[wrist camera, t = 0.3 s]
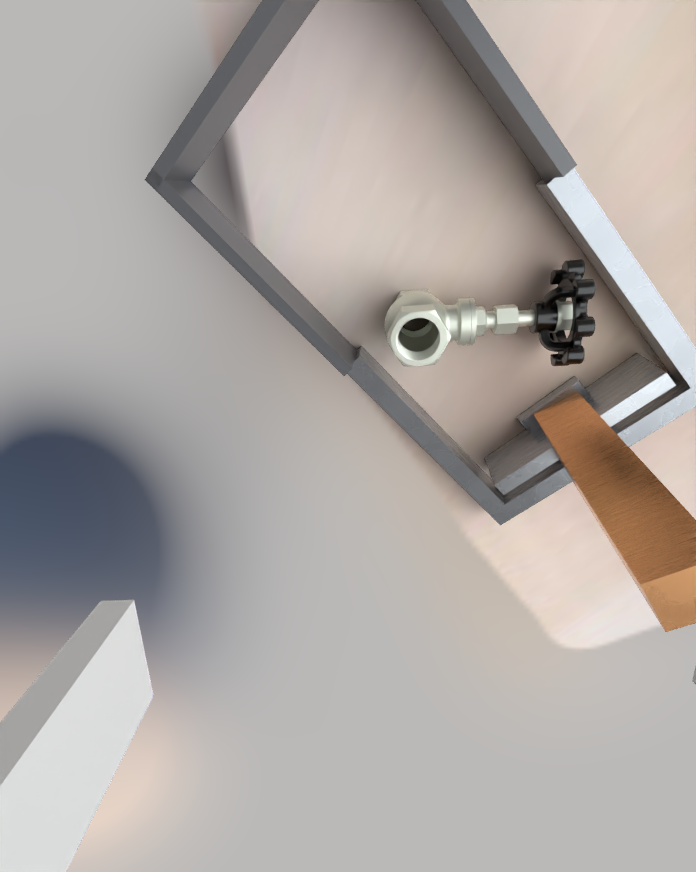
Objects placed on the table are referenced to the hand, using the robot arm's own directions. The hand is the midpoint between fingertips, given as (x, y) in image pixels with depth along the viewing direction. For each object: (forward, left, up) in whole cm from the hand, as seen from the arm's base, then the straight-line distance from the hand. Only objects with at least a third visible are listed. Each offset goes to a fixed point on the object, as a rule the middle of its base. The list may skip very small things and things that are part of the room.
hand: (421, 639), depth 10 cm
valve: (-5, +2, -26) cm, 27 cm away
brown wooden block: (-5, +13, -26) cm, 29 cm away
